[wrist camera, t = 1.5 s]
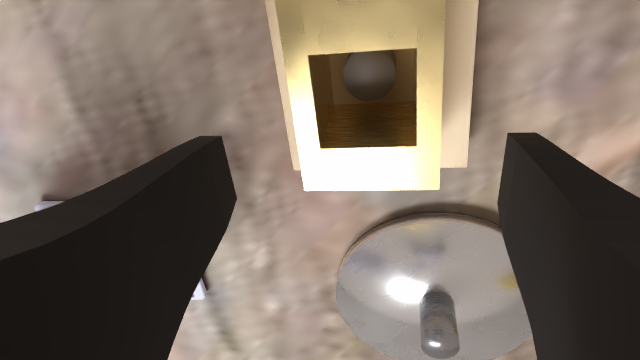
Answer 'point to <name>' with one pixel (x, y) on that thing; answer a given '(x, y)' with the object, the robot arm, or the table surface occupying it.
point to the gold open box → (364, 118)
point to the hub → (433, 289)
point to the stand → (399, 79)
